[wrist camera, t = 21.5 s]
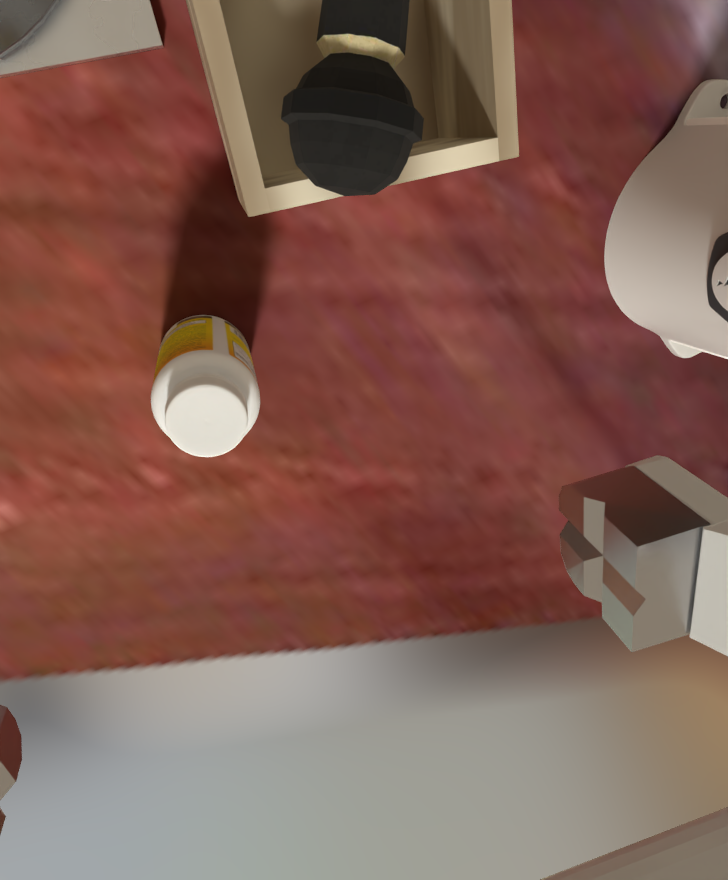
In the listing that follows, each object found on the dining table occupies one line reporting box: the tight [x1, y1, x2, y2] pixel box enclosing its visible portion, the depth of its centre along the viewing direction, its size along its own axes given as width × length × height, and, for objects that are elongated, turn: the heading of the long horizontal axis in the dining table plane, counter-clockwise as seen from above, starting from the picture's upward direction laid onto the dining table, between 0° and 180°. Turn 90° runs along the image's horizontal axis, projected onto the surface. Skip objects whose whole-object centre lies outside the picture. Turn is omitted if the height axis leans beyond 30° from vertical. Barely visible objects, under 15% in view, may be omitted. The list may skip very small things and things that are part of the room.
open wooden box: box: [186, 0, 519, 217], centre depth 28 cm, size 13×13×9 cm
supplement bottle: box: [151, 315, 260, 457], centre depth 33 cm, size 6×6×10 cm
